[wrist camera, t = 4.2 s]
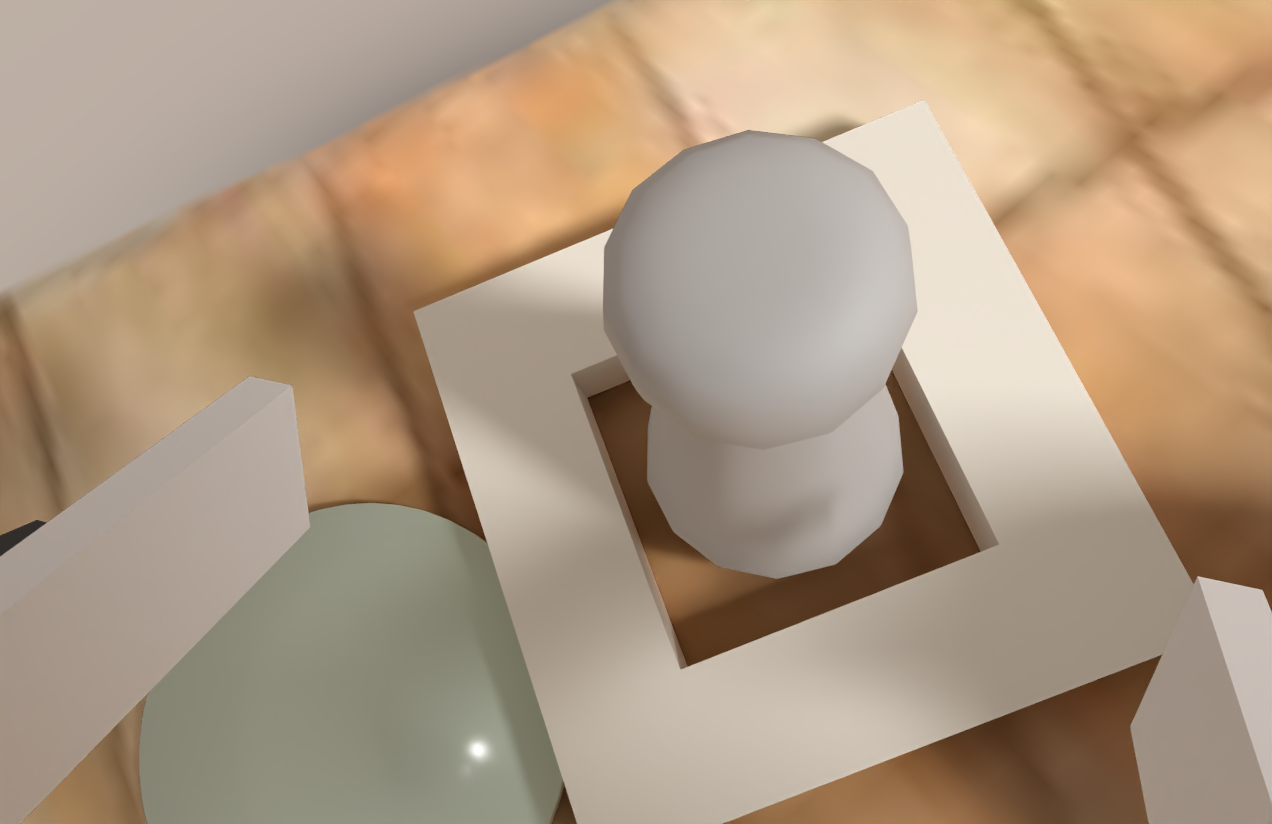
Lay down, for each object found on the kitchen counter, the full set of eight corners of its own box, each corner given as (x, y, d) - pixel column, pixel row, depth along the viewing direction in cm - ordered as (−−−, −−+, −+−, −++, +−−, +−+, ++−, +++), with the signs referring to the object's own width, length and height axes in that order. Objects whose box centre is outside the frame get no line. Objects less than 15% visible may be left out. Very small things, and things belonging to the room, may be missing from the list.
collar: (915, 142, 27) (924, 99, 25) (1184, 637, 22) (1220, 632, 20) (440, 338, 27) (412, 311, 25) (610, 859, 23) (593, 873, 21)
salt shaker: (623, 426, 26) (462, 174, 13) (819, 325, 26) (838, -21, 13) (726, 631, 24) (648, 556, 12) (938, 523, 24) (1086, 333, 12)
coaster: (494, 444, 26) (487, 439, 26) (637, 873, 23) (633, 878, 22) (118, 597, 27) (103, 595, 26) (202, 1040, 23) (187, 1049, 23)
